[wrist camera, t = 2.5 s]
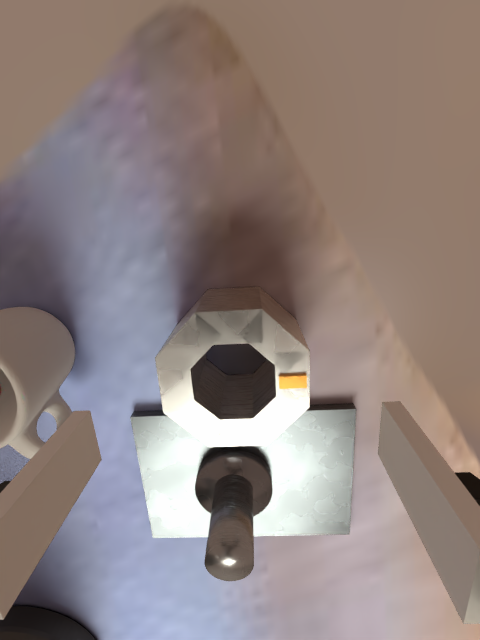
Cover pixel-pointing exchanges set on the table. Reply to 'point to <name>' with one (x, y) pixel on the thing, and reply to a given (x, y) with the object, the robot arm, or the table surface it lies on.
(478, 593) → the robot arm
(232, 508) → the plate with peg
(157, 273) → the table surface
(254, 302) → the ring
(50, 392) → the cup
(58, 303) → the table surface
